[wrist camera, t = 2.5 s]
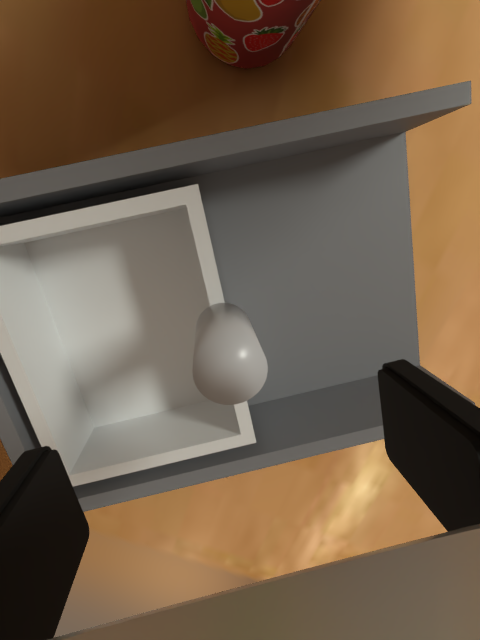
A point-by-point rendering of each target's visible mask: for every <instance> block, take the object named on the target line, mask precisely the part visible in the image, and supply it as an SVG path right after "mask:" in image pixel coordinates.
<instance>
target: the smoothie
mask: <svg viewBox="0 0 480 640" xmlns="http://www.w3.org/2000/svg"><path fill="white" fill-rule="evenodd" d="M320 1H321V0H186V3H187V8H188V14H189V19H190V21H191V23H192V26H193V28H194V30H195V32H196V34H197V36H198V38H199V40H200V41H201V42H202V43H203V44H204V46H205V47H206V48H207V49H208V50H209V52H210V53H211V54H212V55H214V56H215V57H217V58H218V59H220V60H222V61H223V62H225V63H227V64H228V65H232V66H236V67H241V68H245V69H248V68H254V67H260V66H265V65H267V64H268V63H270V62H272V61H274V60H276V59H277V58H279V57H281V55H282V54H283V53H284V52H285V51H286V50H287V49H288V48H289V46H290V45H291V44H292V43H293V41H294V40H295V38H296V37H297V35H298V34H299V32H300V31H301V29H302V28H303V26H304V25H305V23H306V22H307V20H308V19H309V17H310V16H311V14H312V13H313V11H314V10H315V8H316V7H317V5H318V4H319V2H320Z"/></svg>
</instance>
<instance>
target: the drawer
mask: <svg viewBox="0 0 480 640" xmlns="http://www.w3.org/2000/svg"><path fill="white" fill-rule="evenodd" d="M0 353H1V355H2V358H3V360H4V362H5V365H6V367H7V369H8V371H9V374H10V376H11V378H12V381H13V383H14V385H15V387H16V390H17V392H18V394H19V397H20V399H21V401H22V403H23V406H24V408H25V410H26V413H27V415H28V417H29V419H30V422H31V424H32V426H33V428H34V431H35V433H36V435H37V438H38V440H39V442H40V444H41V447H44V446H49V447H50V448H51V449H52V450H53V449H55V450H57V451H58V453H59V454H60V457H61V459H62V462H63V464H64V467H65V469H66V472H67V474H68V476H69V479H70V481H71V484H72V486H73V487H74V486H78V485H82V484H86V483H90V482H94V481H99V480H103V479H107V478H111V477H115V476H119V475H124V474H128V473H132V472H136V471H140V470H144V469H149V468H153V467H157V466H161V465H165V464H169V463H174V462H178V461H182V460H186V459H190V458H194V457H199V456H203V455H207V454H211V453H215V452H219V451H224V450H228V449H232V448H236V447H240V446H244V445H249V444H253V443H256V438H255V434H254V429H253V425H252V421H251V416H250V412H249V407H248V403H247V400H249V399H251V398H252V397H254V396H255V395H256V394H257V393H258V392H259V391H260V390H261V388H262V387H263V385H264V383H265V381H266V378H267V373H268V365H267V360H266V357H265V355H264V352H263V350H262V348H261V346H260V343H259V341H258V339H257V337H256V334H255V332H254V330H253V327H252V325H251V323H250V321H249V318H248V316H247V315H246V313H245V312H244V311H243V310H242V309H241V308H239V307H238V306H236V305H234V304H231V303H225V301H224V297H223V292H222V288H221V284H220V279H219V275H218V270H217V266H216V262H215V257H214V253H213V248H212V244H211V239H210V235H209V231H208V226H207V222H206V217H205V213H204V209H203V204H202V200H201V195H200V191H199V186H198V184H195V185H190V186H186V187H181V188H176V189H172V190H167V191H162V192H158V193H153V194H148V195H144V196H139V197H134V198H129V199H125V200H120V201H115V202H111V203H106V204H101V205H97V206H92V207H87V208H83V209H78V210H73V211H68V212H64V213H59V214H54V215H50V216H45V217H40V218H36V219H31V220H26V221H22V222H17V223H12V224H7V225H3V226H0Z"/></svg>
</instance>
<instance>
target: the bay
mask: <svg viewBox="0 0 480 640" xmlns="http://www.w3.org/2000/svg"><path fill="white" fill-rule="evenodd" d="M469 104H471V81H467V82H462V83H457V84H452V85H448V86H443V87H438V88H433V89H428V90H424V91H419V92H414V93H409V94H405V95H400V96H395V97H390V98H385V99H381V100H376V101H371V102H366V103H361V104H357V105H352V106H347V107H342V108H337V109H333V110H328V111H323V112H318V113H313V114H309V115H304V116H299V117H294V118H289V119H285V120H280V121H275V122H270V123H265V124H261V125H256V126H251V127H246V128H241V129H237V130H232V131H227V132H222V133H217V134H213V135H208V136H203V137H198V138H193V139H189V140H184V141H179V142H174V143H169V144H165V145H160V146H155V147H150V148H145V149H141V150H136V151H131V152H126V153H121V154H117V155H112V156H107V157H102V158H97V159H93V160H88V161H83V162H78V163H74V164H69V165H64V166H59V167H54V168H50V169H45V170H40V171H35V172H30V173H26V174H21V175H16V176H11V177H6V178H2V179H0V226H3V225H7V224H12V223H17V222H22V221H26V220H31V219H36V218H40V217H45V216H50V215H54V214H59V213H64V212H68V211H73V210H78V209H83V208H87V207H92V206H97V205H101V204H106V203H111V202H115V201H120V200H125V199H129V198H134V197H139V196H144V195H148V194H153V193H158V192H162V191H167V190H172V189H176V188H181V187H186V186H190V185H195V184H198V186H199V191H200V195H201V200H202V204H203V209H204V213H205V217H206V222H207V226H208V231H209V235H210V239H211V244H212V248H213V253H214V257H215V262H216V266H217V270H218V275H219V279H220V284H221V288H222V292H223V297H224V301H225V303H231V304H234V305H236V306H238V307H239V308H241V309H242V310H243V311H244V312H245V313H246V315H247V316H248V318H249V321H250V323H251V325H252V327H253V330H254V332H255V334H256V337H257V339H258V341H259V343H260V346H261V348H262V350H263V352H264V355H265V357H266V360H267V365H268V373H267V378H266V381H265V383H264V385H263V387H262V388H261V390H260V391H259V392H258V393H257V394H256V395H255V396H254V397H252V398H251V399H249V400H247V403H248V407H249V412H250V416H251V421H252V425H253V429H254V434H255V438H256V443H253V444H249V445H244V446H240V447H236V448H232V449H228V450H224V451H219V452H215V453H211V454H207V455H203V456H199V457H194V458H190V459H186V460H182V461H178V462H174V463H169V464H165V465H161V466H157V467H153V468H149V469H144V470H140V471H136V472H132V473H128V474H124V475H119V476H115V477H111V478H107V479H103V480H99V481H94V482H90V483H86V484H82V485H78V486H74V487H73V489H74V491H75V493H76V496H77V498H78V501H79V503H80V506H81V508H82V510H83V512H84V511H89V510H93V509H97V508H101V507H105V506H109V505H113V504H117V503H122V502H126V501H130V500H134V499H138V498H142V497H146V496H150V495H154V494H159V493H163V492H167V491H171V490H175V489H179V488H183V487H187V486H192V485H196V484H200V483H204V482H208V481H212V480H216V479H220V478H224V477H229V476H233V475H237V474H241V473H245V472H249V471H253V470H257V469H262V468H266V467H270V466H274V465H278V464H282V463H286V462H290V461H295V460H299V459H303V458H307V457H311V456H315V455H319V454H323V453H327V452H332V451H336V450H340V449H344V448H348V447H352V446H356V445H360V444H365V443H369V442H373V441H377V440H381V439H384V430H383V421H382V412H381V403H380V394H379V384H378V370H381V369H382V366H383V364H384V363H388V362H392V361H397V360H401V359H405V360H407V361H408V362H410V363H411V364H413V365H414V366H416V367H417V368H419V369H420V370H422V371H423V372H425V373H426V374H428V375H429V376H431V377H432V378H434V379H436V380H437V381H439V382H440V383H442V384H443V385H445V386H446V387H448V388H449V389H451V390H452V391H454V392H455V393H457V394H458V395H460V396H461V397H463V398H465V399H466V400H468V401H469V402H471V403H472V404H474V405H475V403H474V402H473V401H471V400H470V399H468V398H467V397H465V396H464V395H463V394H461V393H460V392H458V391H457V390H455V389H454V388H452V387H451V386H449V385H448V384H446V383H445V382H444V381H442V380H441V379H439V378H438V377H436V376H435V375H433V374H432V373H430V372H429V371H427V370H426V369H425V368H423V367H422V366H420V360H419V343H418V327H417V311H416V295H415V279H414V263H413V247H412V231H411V215H410V198H409V182H408V166H407V150H406V134H405V132H406V131H408V130H411V129H413V128H415V127H418V126H420V125H422V124H425V123H427V122H429V121H432V120H434V119H436V118H439V117H441V116H443V115H446V114H448V113H450V112H453V111H455V110H457V109H460V108H462V107H464V106H467V105H469ZM0 439H1V441H2V443H3V446H4V448H5V450H6V452H7V454H8V456H9V458H10V460H11V462H12V465H14V463H15V462H16V461H17V459H18V458H19V457H20V456H21V454H22V453H23V452H24V451H27V450H31V449H36V448H40V447H41V444H40V442H39V440H38V438H37V435H36V433H35V431H34V428H33V426H32V424H31V422H30V419H29V417H28V415H27V413H26V410H25V408H24V406H23V403H22V401H21V399H20V397H19V394H18V392H17V390H16V387H15V385H14V383H13V381H12V378H11V376H10V374H9V371H8V369H7V367H6V365H5V362H4V360H3V358H2V355H1V353H0Z"/></svg>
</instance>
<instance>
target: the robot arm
mask: <svg viewBox="0 0 480 640" xmlns="http://www.w3.org/2000/svg"><path fill="white" fill-rule="evenodd" d="M378 384H379V394H380V403H381V412H382V421H383V430H384V439H385V448H386V452H387V455H388V457H389V459H390V460H391V462H392V463H393V464H394V466H395V467H396V468H397V469H398V470H399V472H400V473H401V474H402V475H403V477H404V478H405V479H406V480H407V482H408V483H409V484H410V485H411V487H412V488H413V489H414V490H415V491H416V493H417V494H418V495H419V496H420V498H421V499H422V500H423V501H424V503H425V504H426V505H427V506H428V508H429V509H430V510H431V511H432V512H433V514H434V515H435V516H436V517H437V519H438V520H439V521H440V522H441V524H442V525H443V526H444V527H445V529H446V530H447V531H448V532H446V533H442V534H438V535H434V536H430V537H426V538H421V539H417V540H414V541H410V542H406V543H402V544H398V545H395V546H391V547H387V548H383V549H380V550H376V551H372V552H368V553H364V554H361V555H357V556H353V557H349V558H345V559H342V560H338V561H334V562H330V563H327V564H323V565H319V566H315V567H311V568H308V569H304V570H300V571H296V572H293V573H289V574H285V575H281V576H278V577H274V578H270V579H267V580H263V581H259V582H256V583H252V584H248V585H245V586H241V587H237V588H233V589H230V590H226V591H222V592H219V593H215V594H211V595H208V596H204V597H201V598H197V599H193V600H189V601H186V602H182V603H178V604H175V605H171V606H167V607H163V608H160V609H156V610H152V611H149V612H146V613H142V614H138V615H134V616H131V617H128V618H124V619H120V620H117V621H113V622H109V623H106V624H102V625H98V626H95V627H91V628H88V629H84V630H80V631H77V632H73V633H70V634H66V635H62V636H59V637H55V638H53V637H54V635H55V632H56V629H57V626H58V623H59V620H60V618H61V615H62V612H63V609H64V606H65V603H66V601H67V598H68V595H69V592H70V589H71V586H72V584H73V581H74V578H75V575H76V573H77V570H78V567H79V564H80V561H81V558H82V556H83V553H84V550H85V547H86V544H87V541H88V538H89V526H88V523H87V520H86V518H85V515H84V513H83V510H82V508H81V506H80V503H79V501H78V498H77V496H76V493H75V491H74V489H73V486H72V484H71V481H70V479H69V476H68V474H67V472H66V469H65V467H64V464H63V462H62V459H61V457H60V454H59V453H58V451H57V450H55V449H53V450H52V449H51V448H50V447H49V446H44V447H40V448H36V449H31V450H27V451H24V452H23V453H22V454H21V456H20V457H19V458H18V459H17V461H16V462H15V463H14V465H13V466H12V467H11V468H10V470H9V471H8V472H7V474H6V475H5V476H4V478H3V479H2V480H1V481H0V640H480V408H478V407H477V406H475V405H474V404H472V403H471V402H469V401H468V400H466V399H465V398H463V397H461V396H460V395H458V394H457V393H455V392H454V391H452V390H451V389H449V388H448V387H446V386H445V385H443V384H442V383H440V382H439V381H437V380H436V379H434V378H432V377H431V376H429V375H428V374H426V373H425V372H423V371H422V370H420V369H419V368H417V367H416V366H414V365H413V364H411V363H410V362H408V361H407V360H405V359H401V360H397V361H392V362H388V363H384V364H383V366H382V369H381V370H378Z"/></svg>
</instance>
